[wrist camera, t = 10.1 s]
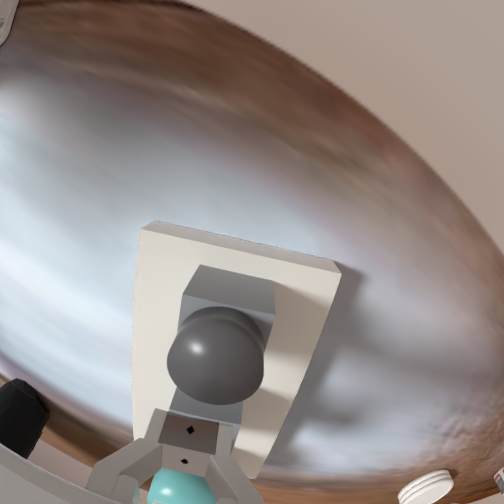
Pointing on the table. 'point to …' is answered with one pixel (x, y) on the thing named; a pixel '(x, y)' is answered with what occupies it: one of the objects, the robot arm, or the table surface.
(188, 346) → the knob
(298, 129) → the table surface
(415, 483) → the white jar lid
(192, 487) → the teal dial
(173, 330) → the mount panel
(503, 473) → the pill bottle
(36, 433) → the portable speaker
